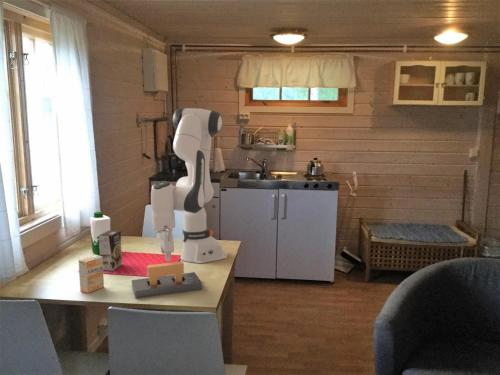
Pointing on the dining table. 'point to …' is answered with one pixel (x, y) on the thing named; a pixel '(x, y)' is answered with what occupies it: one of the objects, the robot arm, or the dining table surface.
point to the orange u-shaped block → (165, 271)
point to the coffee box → (110, 249)
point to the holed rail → (166, 285)
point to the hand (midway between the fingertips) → (165, 256)
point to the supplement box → (91, 273)
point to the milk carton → (98, 229)
